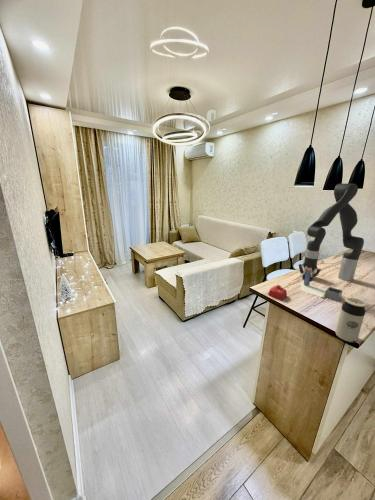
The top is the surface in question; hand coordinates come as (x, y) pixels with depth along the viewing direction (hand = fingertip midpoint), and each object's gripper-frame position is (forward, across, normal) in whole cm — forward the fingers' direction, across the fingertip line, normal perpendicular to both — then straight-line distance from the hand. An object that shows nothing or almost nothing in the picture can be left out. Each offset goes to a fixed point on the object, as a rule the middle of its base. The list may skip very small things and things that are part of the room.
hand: (307, 280), depth 143 cm
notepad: (+5, -5, +4) cm, 8 cm away
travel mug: (+5, -32, +41) cm, 53 cm away
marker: (+3, 0, 0) cm, 3 cm away
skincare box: (+5, +6, -18) cm, 20 cm away
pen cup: (+5, -17, +4) cm, 18 cm away
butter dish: (+5, +5, +31) cm, 32 cm away
